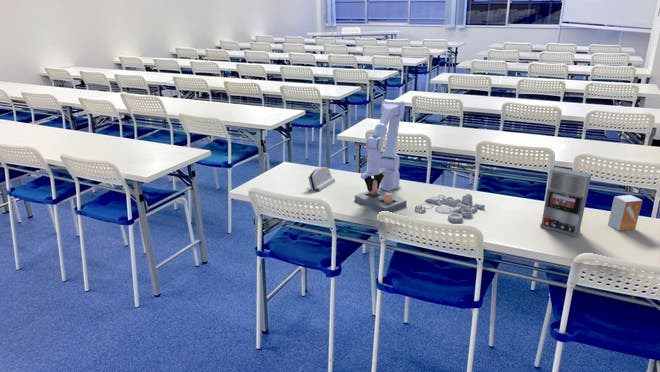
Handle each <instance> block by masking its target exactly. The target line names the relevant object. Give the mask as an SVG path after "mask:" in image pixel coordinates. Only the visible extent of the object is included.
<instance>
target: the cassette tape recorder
mask: <svg viewBox="0 0 660 372" xmlns="http://www.w3.org/2000/svg"><path fill="white" fill-rule="evenodd" d="M591 178H592V173H587V172H583V171H578V170H572V169H568V168H562V167H558V166H555V167H552V169H550V173H549V178H548V185H547V190H546V196H545V202H544V206H543V207H544V208H543V213H542V219H541V223H540V225H539V227H540V228H542V227H543V228H542V229H548V230H551V231H556V232H559V233H562V234H566V235H570V236H573V237H577V236H578V235H579V234H580V233H581V230H582V229H581V226H582V222H583V216H584V213H585V207H586V201H587V199H588V198H587V197H588V193H589V188H590V182H591Z"/></svg>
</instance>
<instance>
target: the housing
mask: <svg viewBox="0 0 660 372" xmlns="http://www.w3.org/2000/svg"><path fill="white" fill-rule="evenodd" d="M384 193H387V191H386V192H385V190H384V191H383V190H382V189H380V188H379V189H377V194H374V195H372V194H369V191H368V190H367V191H365V192H364V191H363V192H361V193H357V194H356V195H354V201H356V202H358V203H360V204H362V205H364V206H367V207H369V208H372V209H374V210H376V211H378V212H380V211H390V212H392V211H396V210H399V209H401V208H404V207H406V206H407V200H406V199H404V198H401V197H398V196H396V195H394V194H393V202H392V204H389V205H388V204H385V203H384Z"/></svg>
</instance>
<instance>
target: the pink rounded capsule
mask: <svg viewBox="0 0 660 372" xmlns="http://www.w3.org/2000/svg"><path fill="white" fill-rule="evenodd" d="M369 194H372V195H374V194H377V180H374V181H373V185H372V191H371V192H370V191H369Z"/></svg>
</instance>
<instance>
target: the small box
mask: <svg viewBox="0 0 660 372" xmlns="http://www.w3.org/2000/svg"><path fill="white" fill-rule="evenodd" d="M613 197H614V198H613V201H612V206H611V209H610V214H609V219H608V223H607V225H608V226H609V227H611V228H612V229H614V228H615V229H614V230H617V231H619V232H620V231H621V232H622V231H628V230H630V229H631V230H635V229H636V228H637V227H636V226H637V223H638V219H639V216H640V211H641V208H642V204H643V200H642V199H640V198H639V197H636V196H634V195H633V194H625V195H617V196H613Z"/></svg>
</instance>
